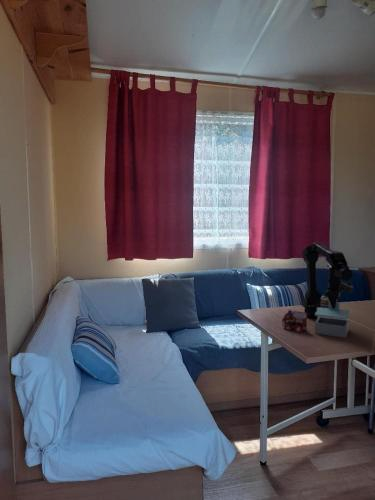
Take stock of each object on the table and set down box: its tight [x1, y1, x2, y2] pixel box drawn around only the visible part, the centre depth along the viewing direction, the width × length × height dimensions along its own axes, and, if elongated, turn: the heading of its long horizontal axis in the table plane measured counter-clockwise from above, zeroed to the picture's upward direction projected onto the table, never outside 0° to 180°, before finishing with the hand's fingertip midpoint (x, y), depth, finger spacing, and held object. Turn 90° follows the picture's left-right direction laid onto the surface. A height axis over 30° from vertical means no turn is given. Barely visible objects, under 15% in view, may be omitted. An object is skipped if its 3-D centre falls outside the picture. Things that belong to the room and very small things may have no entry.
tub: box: [314, 316, 350, 339], centre depth 174 cm, size 14×12×6 cm
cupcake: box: [320, 294, 330, 308], centre depth 217 cm, size 10×10×10 cm
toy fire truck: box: [281, 309, 308, 333], centre depth 178 cm, size 7×12×10 cm, turn 56°
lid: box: [315, 302, 350, 320], centre depth 173 cm, size 14×12×5 cm
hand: (333, 307), depth 178 cm, fingers closed on lid
